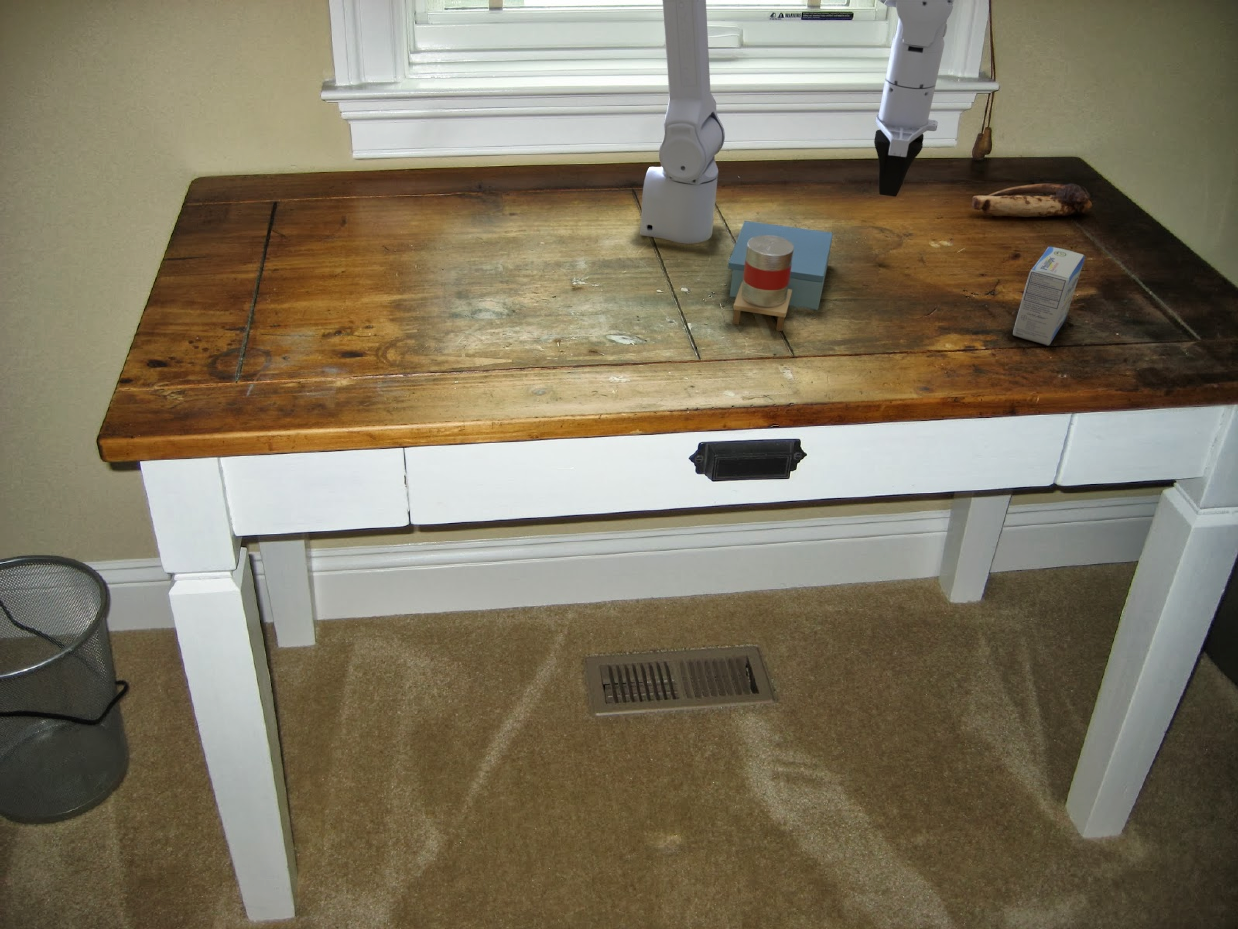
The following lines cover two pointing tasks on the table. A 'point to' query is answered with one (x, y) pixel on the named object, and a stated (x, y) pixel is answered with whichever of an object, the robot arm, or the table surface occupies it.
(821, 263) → the lid
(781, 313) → the stool
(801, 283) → the cooler
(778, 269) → the can
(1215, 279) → the table surface
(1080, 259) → the medicine box
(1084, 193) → the lashed bone hook
